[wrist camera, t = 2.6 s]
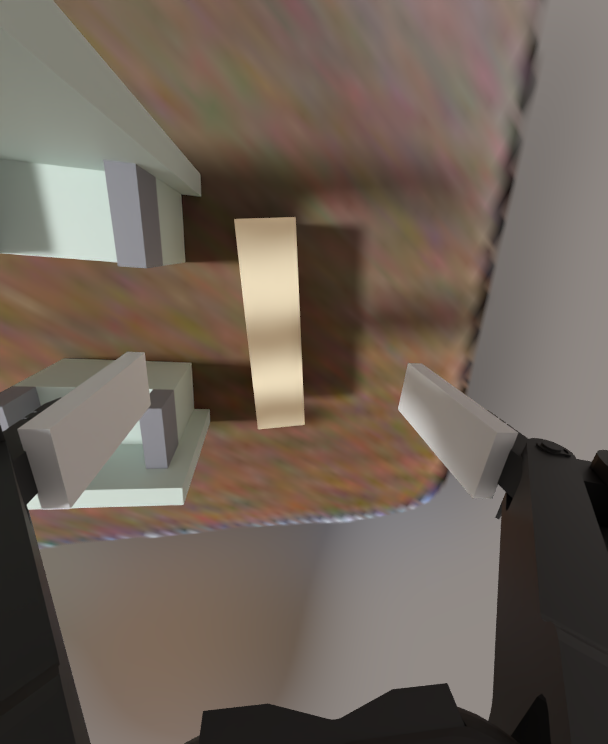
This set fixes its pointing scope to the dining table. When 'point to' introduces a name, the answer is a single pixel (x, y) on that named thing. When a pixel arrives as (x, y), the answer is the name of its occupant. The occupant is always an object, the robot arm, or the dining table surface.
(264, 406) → the maple rail
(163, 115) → the dining table surface
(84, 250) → the bed frame
